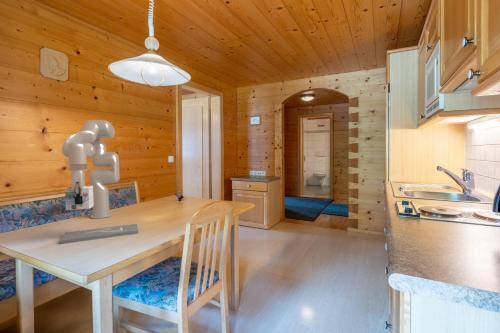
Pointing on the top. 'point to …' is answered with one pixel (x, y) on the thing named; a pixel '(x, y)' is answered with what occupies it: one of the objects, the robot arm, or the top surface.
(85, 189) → the light bulb box
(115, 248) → the top surface
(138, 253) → the top surface
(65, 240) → the slate board
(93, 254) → the top surface
